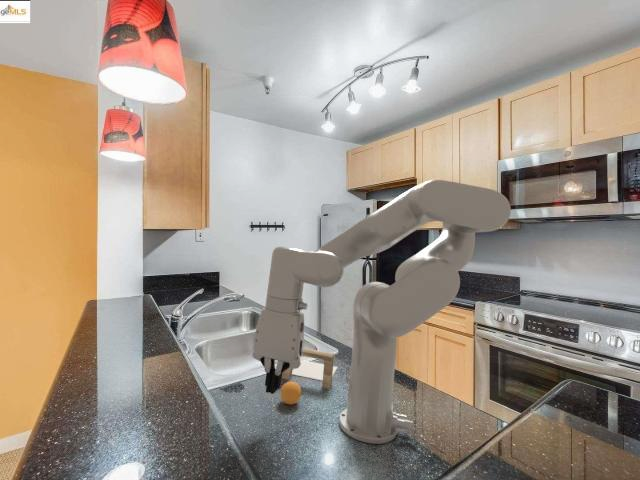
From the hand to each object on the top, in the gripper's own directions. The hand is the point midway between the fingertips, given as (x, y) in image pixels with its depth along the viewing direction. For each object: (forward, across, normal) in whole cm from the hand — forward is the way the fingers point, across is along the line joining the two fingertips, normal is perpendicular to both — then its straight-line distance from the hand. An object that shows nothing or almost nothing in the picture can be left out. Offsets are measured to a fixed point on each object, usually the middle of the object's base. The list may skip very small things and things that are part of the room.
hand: (272, 390), depth 65 cm
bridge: (+7, -1, -23) cm, 24 cm away
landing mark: (+6, -1, -32) cm, 32 cm away
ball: (+4, -1, -10) cm, 11 cm away
